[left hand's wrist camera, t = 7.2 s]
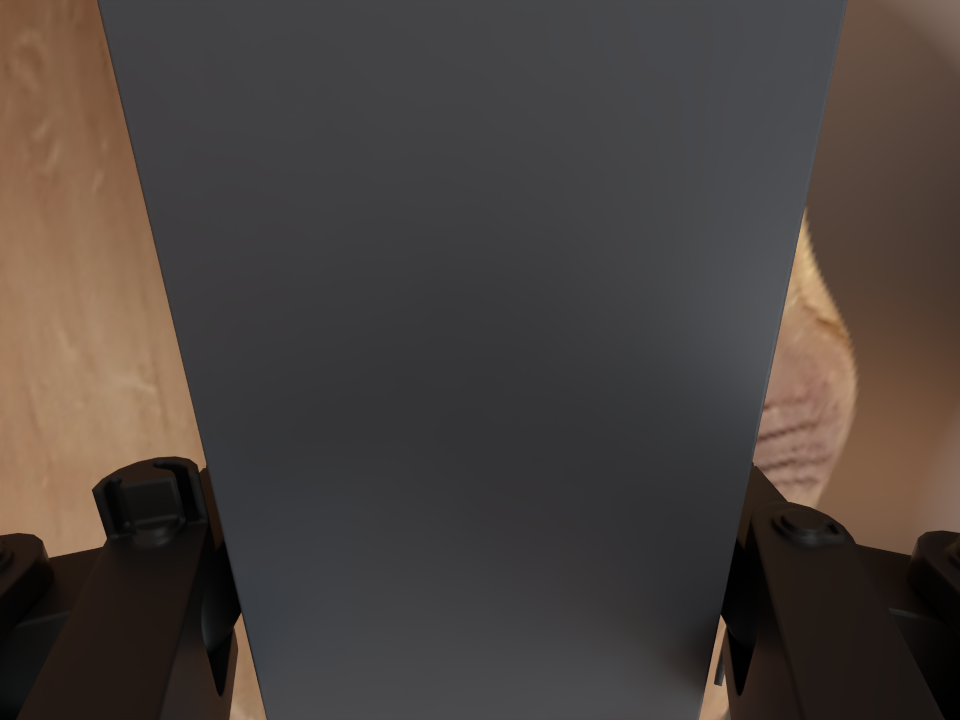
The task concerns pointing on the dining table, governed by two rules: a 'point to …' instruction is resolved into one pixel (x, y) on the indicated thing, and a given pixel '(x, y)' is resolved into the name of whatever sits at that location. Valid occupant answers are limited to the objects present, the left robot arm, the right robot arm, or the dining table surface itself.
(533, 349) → the beam
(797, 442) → the dining table surface
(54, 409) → the dining table surface
